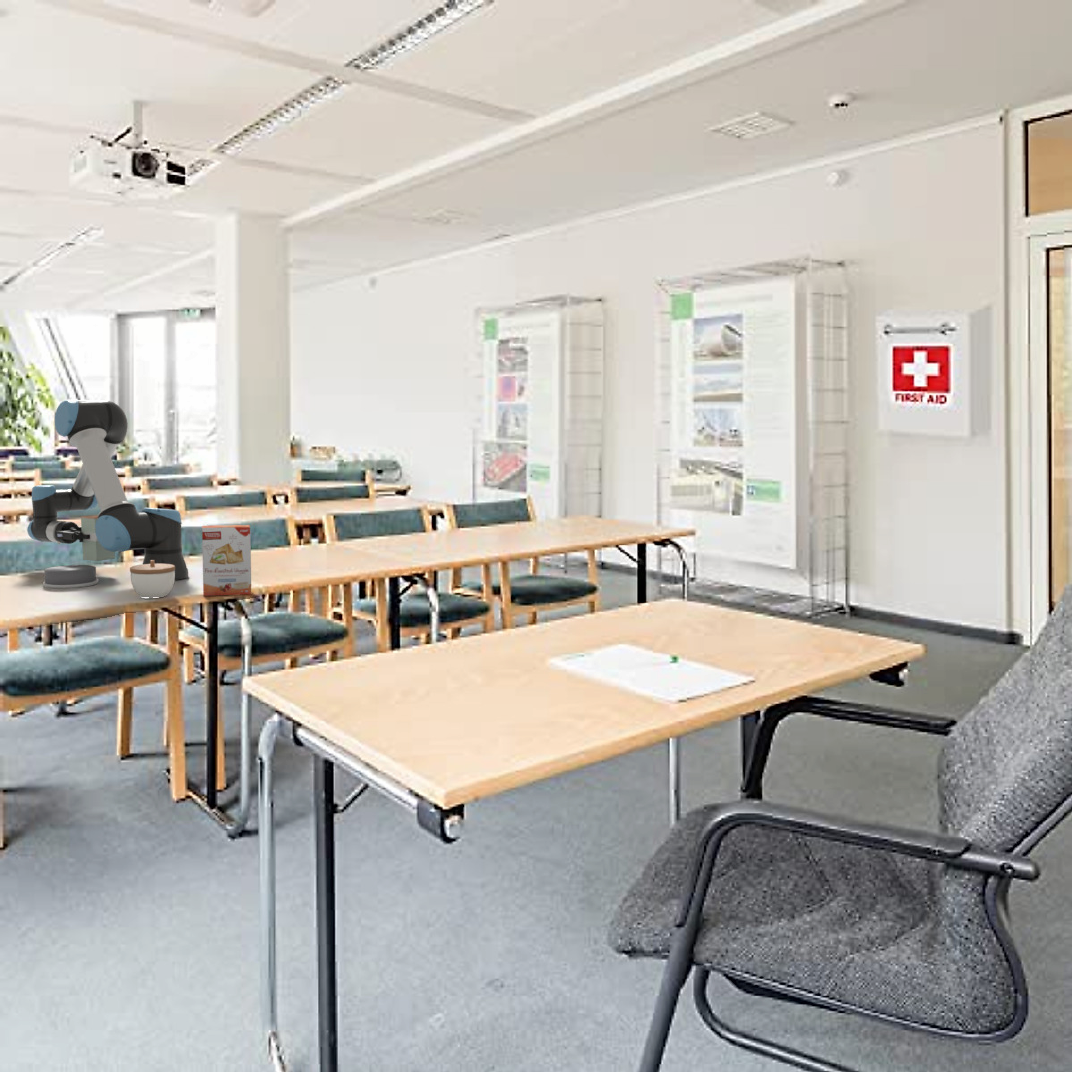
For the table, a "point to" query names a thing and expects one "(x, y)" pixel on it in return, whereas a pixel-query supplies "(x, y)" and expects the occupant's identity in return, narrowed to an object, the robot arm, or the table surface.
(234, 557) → the cracker box
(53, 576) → the podium
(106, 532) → the robot arm
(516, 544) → the table surface
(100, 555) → the carton
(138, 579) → the lidded bowl
